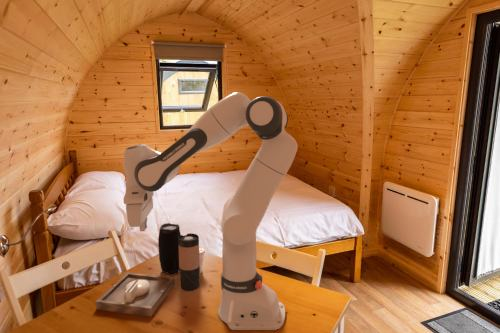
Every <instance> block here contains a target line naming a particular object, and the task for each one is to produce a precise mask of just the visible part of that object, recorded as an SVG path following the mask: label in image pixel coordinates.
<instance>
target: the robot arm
mask: <svg viewBox="0 0 500 333" xmlns="http://www.w3.org/2000/svg"><path fill="white" fill-rule="evenodd" d="M288 121H289V117H288V113H287V111H286V109H285V108H284V106H283V105H282V103H281V102H279V101H278V100H276V99H275V98H274V97H270V96H268V95H266V96H264V95H263V96H257V97H256V98H253V99H252V100H251V99H250V98H249V97H248V96H247V95H246V94H244V93H242V92H239V91H237V92H236V91H235V92H231V94H228V95H227V96H225V97H223V98H221V99H220V100H218V101H217V102H216V103H214V104H213V105H212V106H210V107H209V108H208V109H207V110H205V112H204V113H203V114H202V115H201V116H200V117H199V118H198V119H197V120H196V121H195V123H194V124H192V125H191V127H190V128H188V130H187V131H186V132H185V133H184V134H183V136H181V137H180V138H179V139H178V140H176V141H175V142H174V143H172V144H171V145H170V146H168V147H167V148H166V149H165V150H163V152H162V151H158V150H156V149H154V148H151V146H149V145H148V144H145V143H143V144H142V143H141V144H136V145H131V146H129V147H126V148H125V150H124V152H123V158H122V159H123V161H122V162H123V172H124V175H125V193H124V196H123V204H124V205H125V213H126V217H127V218H126V220H127V223H128V226H129V227H130V228H138V227H139V231H140V232H145V231H146V230H147V228H148V225H147V222H148V216H149V215H150V213H151V212H152V211H153V209H154V199H153V197H154V192H156V191H159V190H160V189H161V188H162V187H164V186H165V185H167V183H169V182H171V181H172V180H174V179H175V178H176V177H177V176H178V174H179V172H180V166H181V165H182V164H184V163H185V162H186V161H187V160H189V159H190V158H191V157H193V156H195V155H196V154H198V153H200V152H203V151H205V150H208V149H210V148H212V147H215V146H217V145H219V144H221V143H223V142H224V141H226V140H228V139H229V138H231V137H232V136H233V135H234V134H236V133H237V132H238V131H239V130H240V129H243V128H244V127H247V126H249V127H250V129H251V130H252V131H253V132H254V133H255V134H256V135H257V137H259V139H261V141H262V142H261V145H260V147H259V149H258V151H257V152H256V154H255V156H254V158H253V159H252V161H251V163H250V164H249V166H248V168H247V170H246V171H245V173H244V175H243V176H242V178H241V181H240V183H239V185H238V187H237V189H236V191H235V193H234V195H231V196H230V198H228V199H227V200H226V202H225V203H224V205H223V209H222V215H221V221H220V228H221V231H222V249H221V250H222V253H221V254H222V258H221V259H222V272H221V274H220V275H221V277H220V285H221V290H222V291H221V298H220V299H221V300H220V303H219V307H218V311H217V312H218V313H217V314H218V317H219V319H220V320H221V321H222V322H224V323H225V324H227V326H228V328H229V329H230V330H231V331H278V330H280V329H281V328H282V327H283V325H284V324H285V320H286V307H285V305H284V304H283V303H282V302H281V301H279V298H278V294H277V293H276V291H275V290H273V289H272V288H271V287H269V286H267V285H266V284H265V283H263V272H261V273H258V272H257V230H258V229H259V226H260V225H261V222H262V221H263V219H264V216H265V214H266V213H267V210H268V207H269V206H270V203H271V201H272V199H273V196H274V195H275V193H276V192H277V190H278V189H279V187H280V185H281V184H282V181H283V180H284V179H285V177H286V175H287V173H288V171H289V169H290V168H291V166H292V164H293V161H294V160H295V157H296V154H297V152H298V147H299V146H298V143H297V141H296V139H295V138H294V137H293V136H292V135H291V134H290V133H288V132H287V131H286V128H287V126H288ZM277 329H278V330H277Z"/></svg>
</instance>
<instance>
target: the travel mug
mask: <svg viewBox="0 0 500 333" xmlns="http://www.w3.org/2000/svg"><path fill="white" fill-rule="evenodd" d="M178 243H179V282H180V284H179V285H180V289H181V290H182V291H184V292H193V291H197V290H198V289H199V288H200V283H201V282H200V281H201V280H200V279H201V278H200V277H201V273H200V259H199V247H200V237H199V235H198V234H197V233H191V232H190V233H187V234H185V235H182V234H181V236H179V238H178Z"/></svg>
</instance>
